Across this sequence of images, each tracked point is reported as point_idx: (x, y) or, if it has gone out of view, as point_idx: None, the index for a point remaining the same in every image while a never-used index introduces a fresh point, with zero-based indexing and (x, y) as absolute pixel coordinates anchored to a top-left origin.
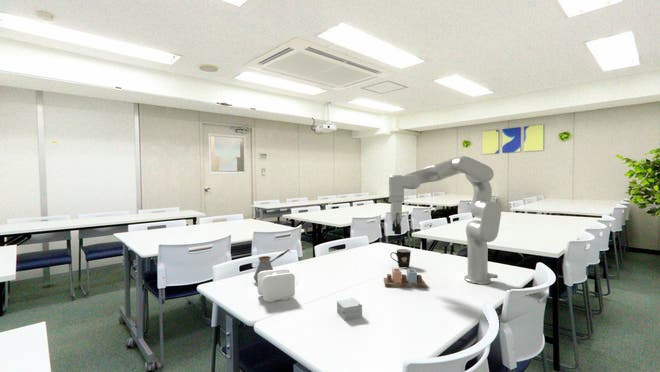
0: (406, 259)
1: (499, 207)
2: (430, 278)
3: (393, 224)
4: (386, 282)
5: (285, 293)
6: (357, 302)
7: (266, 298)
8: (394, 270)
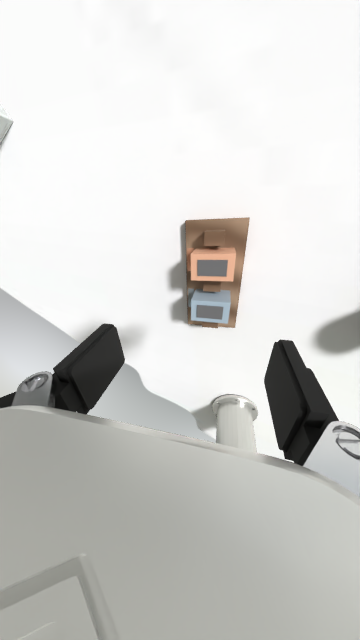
0: None
1: None
2: (255, 346)
3: (296, 409)
4: (199, 225)
5: None
6: None
7: None
8: (208, 259)
